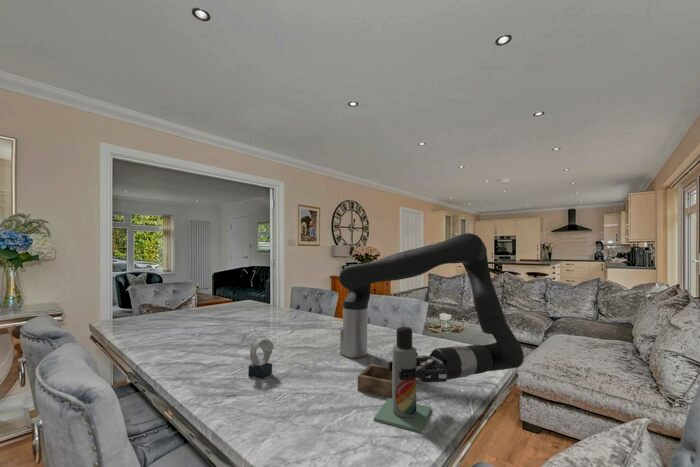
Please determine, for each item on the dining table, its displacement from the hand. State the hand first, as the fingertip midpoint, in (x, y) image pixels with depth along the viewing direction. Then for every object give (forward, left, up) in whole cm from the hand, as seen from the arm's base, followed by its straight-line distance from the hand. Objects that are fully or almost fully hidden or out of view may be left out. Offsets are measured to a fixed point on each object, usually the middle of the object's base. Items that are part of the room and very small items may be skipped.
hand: (394, 370), depth 76 cm
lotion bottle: (+2, +2, -10) cm, 11 cm away
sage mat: (+2, +2, -11) cm, 11 cm away
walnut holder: (-8, +14, -11) cm, 19 cm away
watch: (-44, +5, -11) cm, 46 cm away
